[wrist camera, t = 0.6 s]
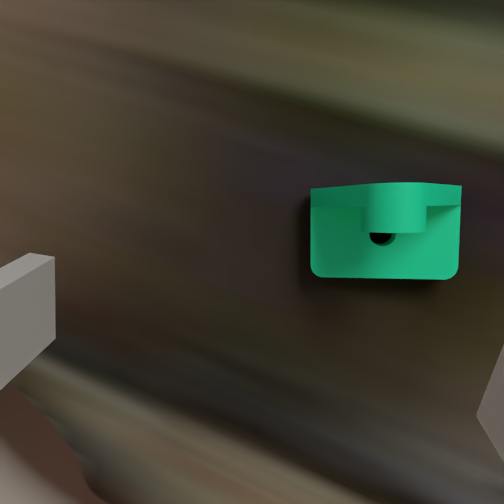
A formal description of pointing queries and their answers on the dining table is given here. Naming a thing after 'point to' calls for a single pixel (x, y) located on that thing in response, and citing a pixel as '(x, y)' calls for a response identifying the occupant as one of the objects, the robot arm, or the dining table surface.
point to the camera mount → (386, 231)
